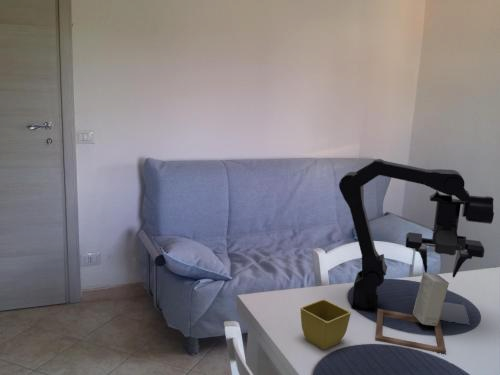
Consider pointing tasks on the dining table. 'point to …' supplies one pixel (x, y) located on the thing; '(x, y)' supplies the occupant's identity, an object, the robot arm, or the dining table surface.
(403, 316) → the walnut holder frame
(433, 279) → the skincare box
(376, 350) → the dining table surface
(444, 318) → the grey square plate
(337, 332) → the flower pot
